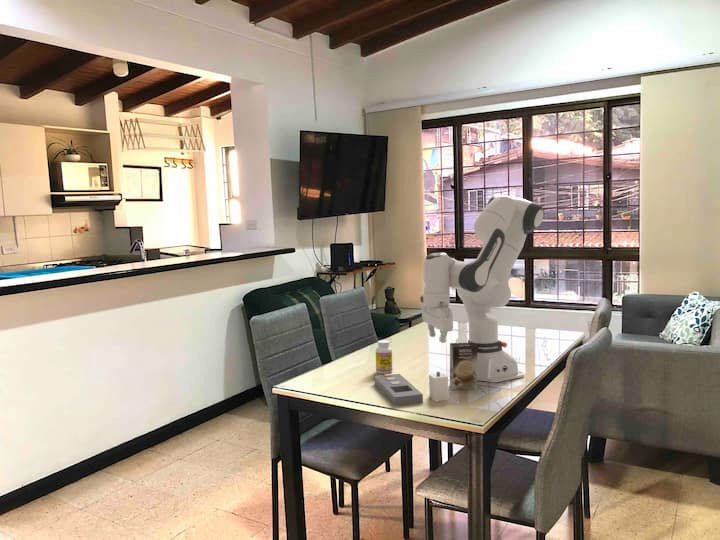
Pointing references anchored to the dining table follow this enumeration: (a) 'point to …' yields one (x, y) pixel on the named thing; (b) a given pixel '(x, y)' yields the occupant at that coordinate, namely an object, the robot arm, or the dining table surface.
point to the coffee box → (463, 366)
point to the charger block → (438, 386)
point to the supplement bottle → (383, 357)
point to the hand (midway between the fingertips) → (437, 339)
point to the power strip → (398, 389)
